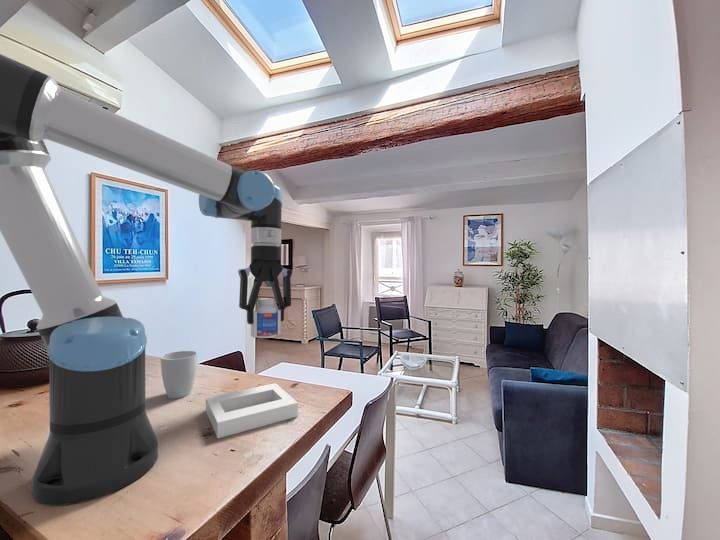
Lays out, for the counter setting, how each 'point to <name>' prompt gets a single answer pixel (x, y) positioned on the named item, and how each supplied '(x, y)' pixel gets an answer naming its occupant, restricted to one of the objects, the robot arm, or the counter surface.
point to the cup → (178, 372)
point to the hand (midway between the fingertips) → (265, 335)
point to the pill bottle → (266, 318)
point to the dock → (249, 409)
